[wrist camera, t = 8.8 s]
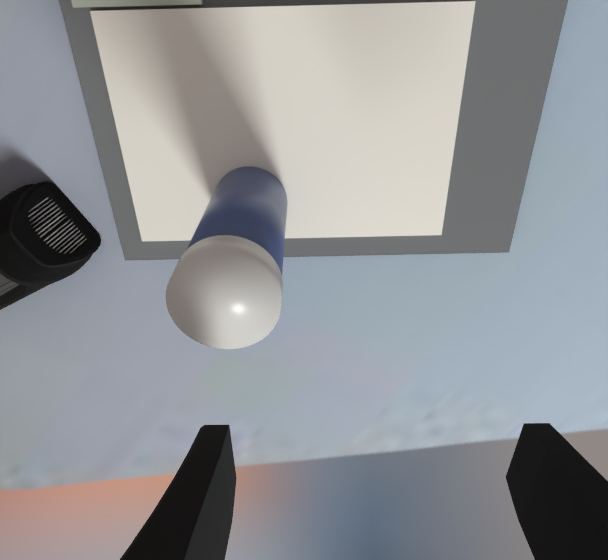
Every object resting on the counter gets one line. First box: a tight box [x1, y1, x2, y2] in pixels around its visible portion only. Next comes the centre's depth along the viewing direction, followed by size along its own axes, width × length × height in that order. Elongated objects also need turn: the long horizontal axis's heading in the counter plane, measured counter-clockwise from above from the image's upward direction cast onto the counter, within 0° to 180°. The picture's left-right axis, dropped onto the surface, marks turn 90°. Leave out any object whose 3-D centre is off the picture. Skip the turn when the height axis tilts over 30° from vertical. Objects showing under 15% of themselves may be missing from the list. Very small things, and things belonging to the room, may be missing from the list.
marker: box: [166, 166, 288, 349], centre depth 15 cm, size 3×3×7 cm
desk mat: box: [59, 0, 568, 260], centre depth 16 cm, size 16×12×1 cm
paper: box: [90, 1, 476, 241], centre depth 17 cm, size 12×8×1 cm, turn 91°
